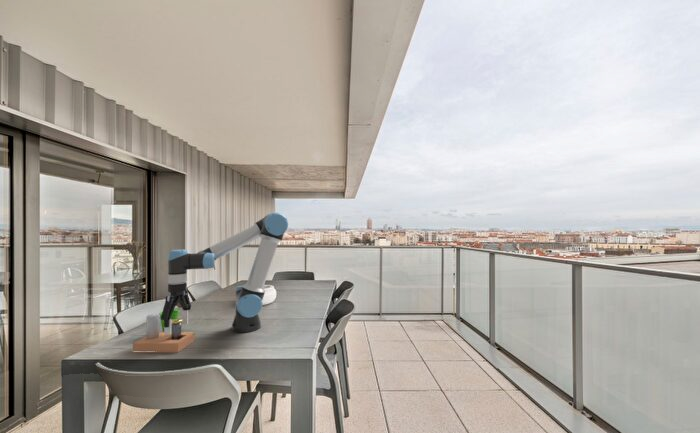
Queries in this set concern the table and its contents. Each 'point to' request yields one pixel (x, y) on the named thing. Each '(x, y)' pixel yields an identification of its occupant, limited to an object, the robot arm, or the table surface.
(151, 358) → the table surface
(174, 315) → the cup
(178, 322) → the pin
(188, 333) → the peach square-hole plate
